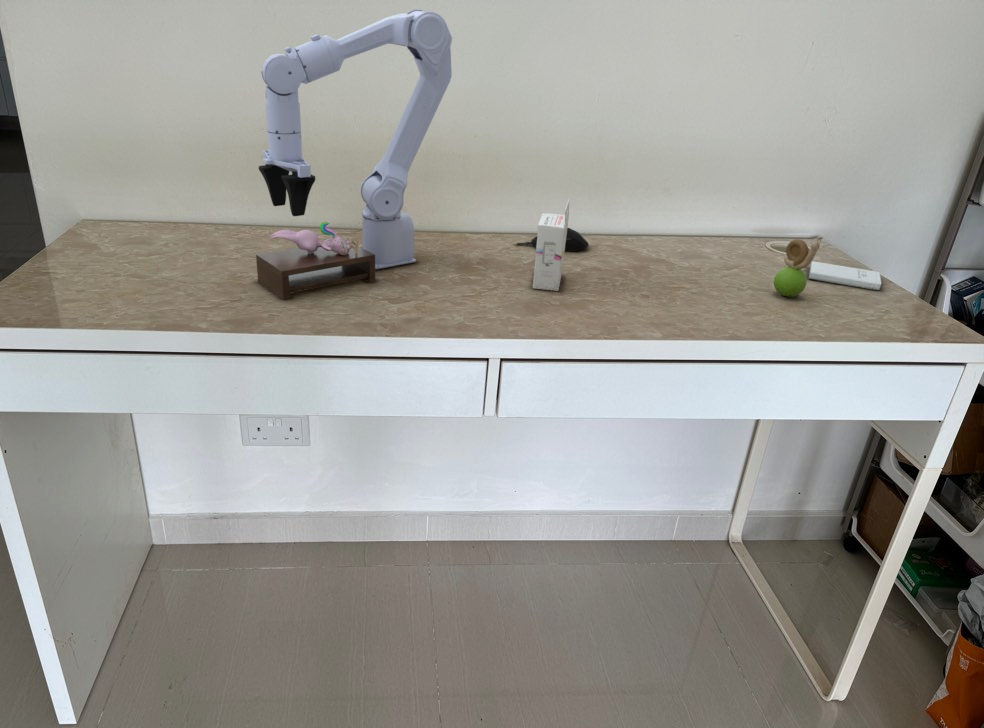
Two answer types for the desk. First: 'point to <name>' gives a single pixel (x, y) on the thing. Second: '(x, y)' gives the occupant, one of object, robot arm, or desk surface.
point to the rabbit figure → (317, 240)
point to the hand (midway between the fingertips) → (288, 210)
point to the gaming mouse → (567, 241)
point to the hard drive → (845, 275)
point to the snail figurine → (795, 268)
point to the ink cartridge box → (550, 250)
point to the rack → (312, 269)
